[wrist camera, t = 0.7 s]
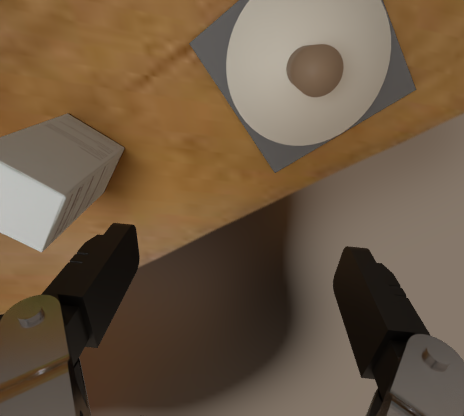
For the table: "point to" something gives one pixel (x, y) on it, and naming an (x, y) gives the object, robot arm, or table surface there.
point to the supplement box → (52, 177)
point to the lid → (307, 66)
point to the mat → (277, 155)
